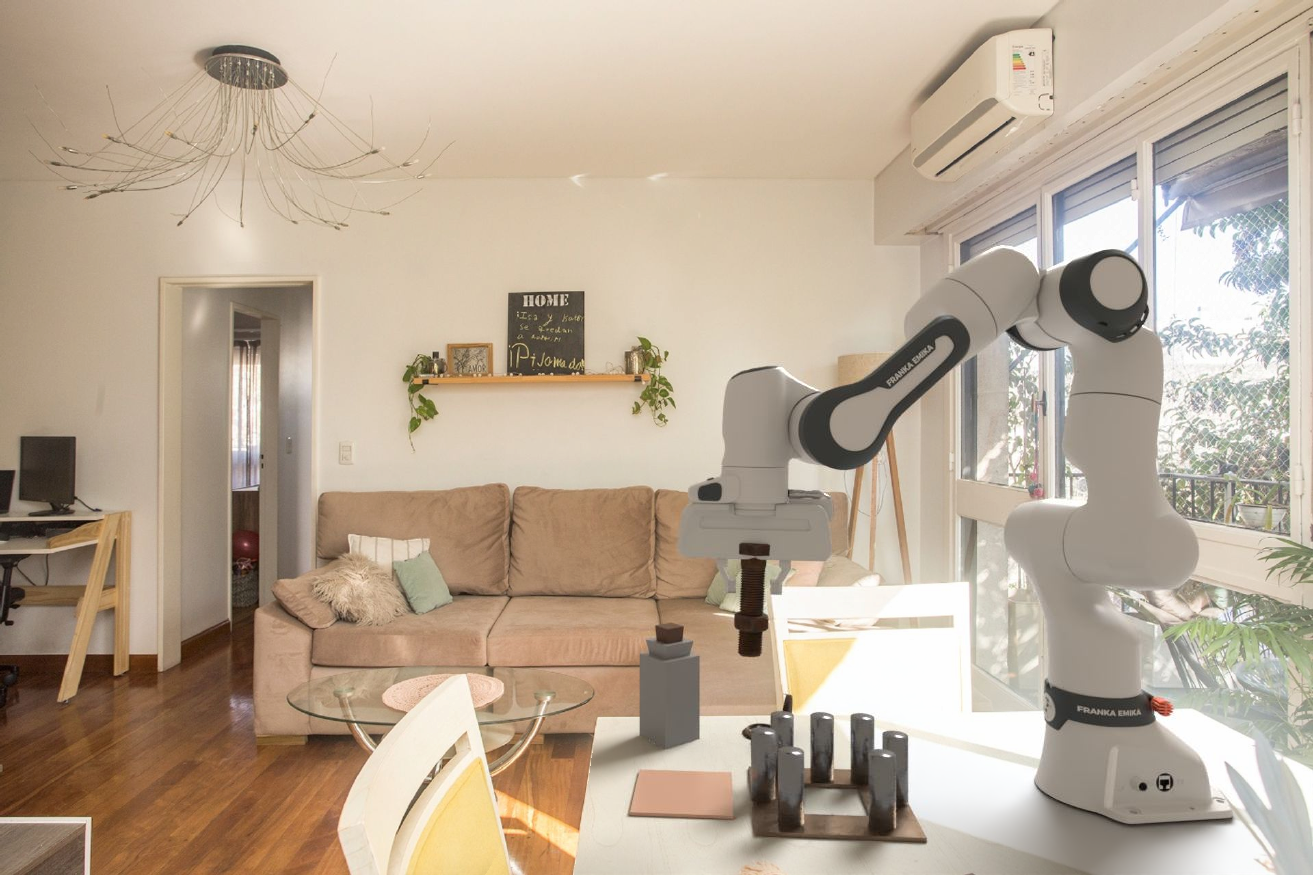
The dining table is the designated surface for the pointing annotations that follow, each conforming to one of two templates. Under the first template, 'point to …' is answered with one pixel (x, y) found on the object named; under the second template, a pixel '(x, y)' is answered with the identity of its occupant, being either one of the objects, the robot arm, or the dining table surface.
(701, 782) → the pad
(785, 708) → the compass
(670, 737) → the perfume bottle
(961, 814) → the dining table surface
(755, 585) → the bolt
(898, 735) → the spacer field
